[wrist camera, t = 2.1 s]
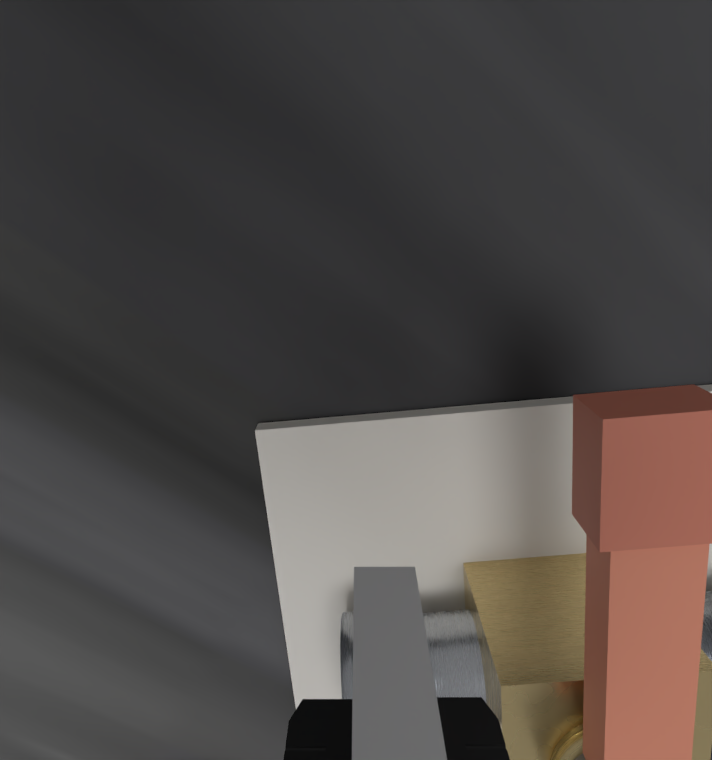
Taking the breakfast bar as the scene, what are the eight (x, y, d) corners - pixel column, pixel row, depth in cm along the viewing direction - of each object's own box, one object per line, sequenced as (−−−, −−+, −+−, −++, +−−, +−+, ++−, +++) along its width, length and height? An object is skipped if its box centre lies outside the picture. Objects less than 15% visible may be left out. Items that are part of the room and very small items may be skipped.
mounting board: (258, 423, 28) (254, 430, 27) (820, 375, 28) (836, 380, 27) (305, 745, 34) (303, 761, 33) (776, 712, 33) (788, 727, 32)
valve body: (341, 572, 29) (334, 715, 21) (748, 540, 29) (910, 674, 20) (355, 699, 32) (354, 877, 23) (734, 672, 31) (876, 843, 23)
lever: (552, 396, 17) (579, 421, 15) (714, 382, 17) (763, 405, 15) (552, 839, 22) (573, 904, 20) (678, 831, 22) (712, 895, 20)
